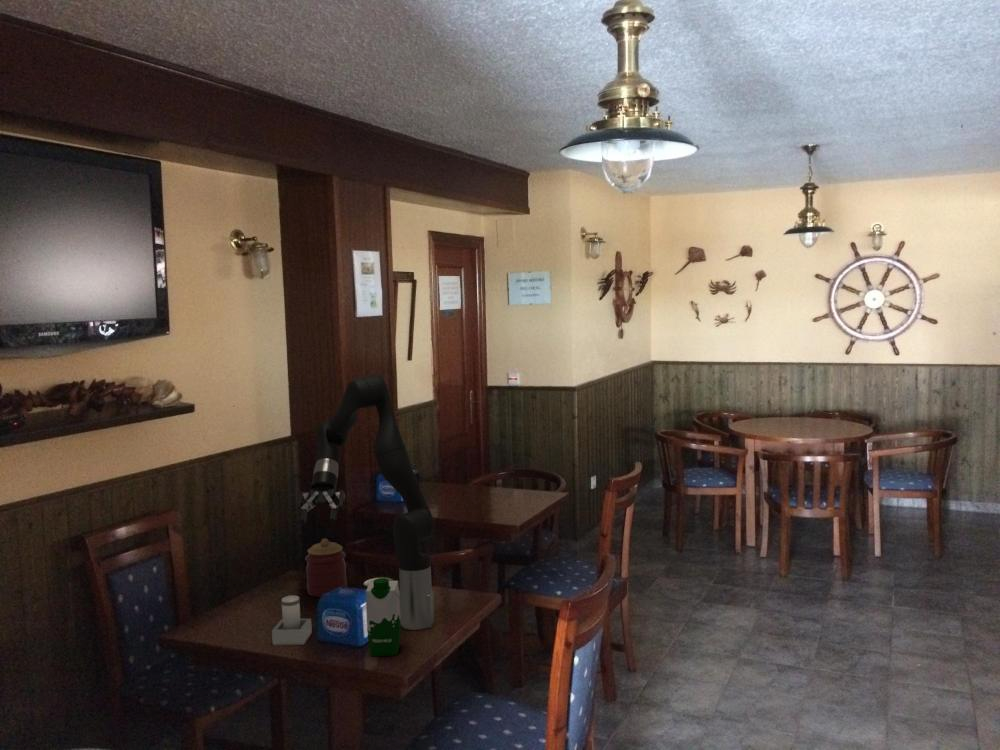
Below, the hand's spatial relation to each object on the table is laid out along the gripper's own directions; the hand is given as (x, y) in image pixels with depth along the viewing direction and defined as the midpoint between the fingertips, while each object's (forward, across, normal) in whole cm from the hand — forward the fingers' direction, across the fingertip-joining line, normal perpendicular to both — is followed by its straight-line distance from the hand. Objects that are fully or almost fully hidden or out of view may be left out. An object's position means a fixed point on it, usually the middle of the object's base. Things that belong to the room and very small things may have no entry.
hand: (317, 522), depth 248 cm
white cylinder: (+32, -4, +7) cm, 33 cm away
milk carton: (+39, +24, +2) cm, 46 cm away
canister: (+5, -4, +36) cm, 36 cm away
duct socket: (+33, -4, +8) cm, 34 cm away
